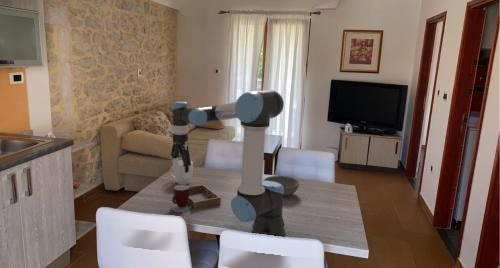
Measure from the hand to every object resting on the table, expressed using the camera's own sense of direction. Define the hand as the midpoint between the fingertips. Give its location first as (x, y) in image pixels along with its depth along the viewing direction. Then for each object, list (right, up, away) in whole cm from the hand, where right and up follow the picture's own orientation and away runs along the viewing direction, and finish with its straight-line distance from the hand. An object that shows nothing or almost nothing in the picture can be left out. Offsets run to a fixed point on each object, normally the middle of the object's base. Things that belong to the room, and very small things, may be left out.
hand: (180, 174), depth 181 cm
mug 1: (-7, -10, +40) cm, 42 cm away
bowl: (+53, -15, +28) cm, 61 cm away
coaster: (-1, -18, +4) cm, 18 cm away
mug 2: (-1, -17, +5) cm, 18 cm away
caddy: (+7, -16, +15) cm, 23 cm away
